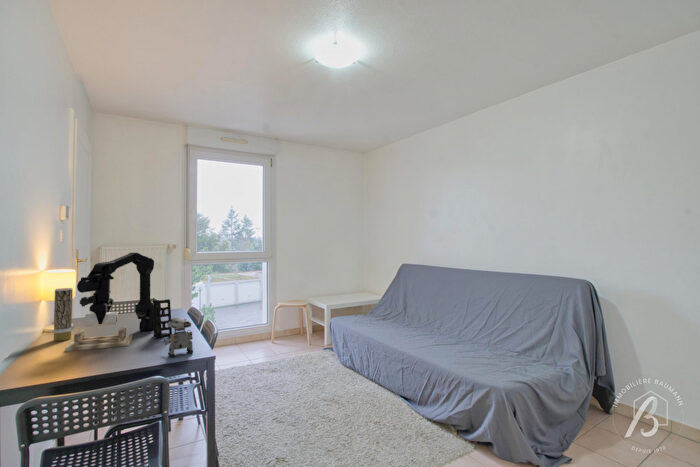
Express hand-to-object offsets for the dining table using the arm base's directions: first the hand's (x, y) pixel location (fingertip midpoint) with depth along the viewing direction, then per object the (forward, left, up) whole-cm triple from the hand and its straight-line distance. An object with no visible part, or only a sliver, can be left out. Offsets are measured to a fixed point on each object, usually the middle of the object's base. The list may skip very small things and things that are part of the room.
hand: (101, 322), depth 168 cm
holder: (-25, -3, -10) cm, 27 cm away
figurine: (-34, +29, -10) cm, 46 cm away
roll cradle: (0, 0, -10) cm, 10 cm away
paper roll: (0, 0, -1) cm, 1 cm away
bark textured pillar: (+19, -16, -10) cm, 27 cm away
